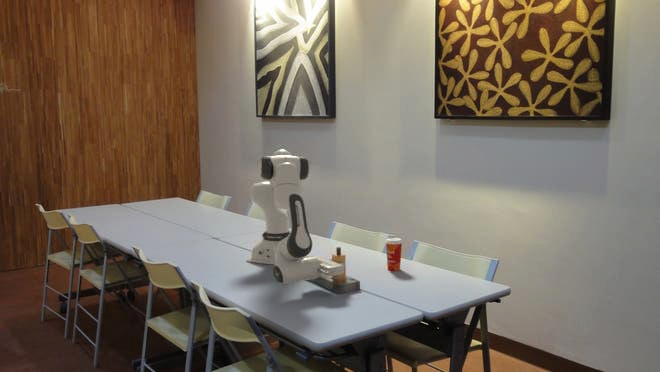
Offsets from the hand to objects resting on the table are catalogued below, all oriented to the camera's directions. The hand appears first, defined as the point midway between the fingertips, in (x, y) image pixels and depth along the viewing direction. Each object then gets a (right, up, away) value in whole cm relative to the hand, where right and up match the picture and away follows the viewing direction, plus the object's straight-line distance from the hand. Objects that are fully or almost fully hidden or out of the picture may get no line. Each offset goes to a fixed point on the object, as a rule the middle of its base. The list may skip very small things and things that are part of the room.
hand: (340, 262), depth 243 cm
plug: (-1, -9, +1) cm, 9 cm away
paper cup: (+25, -7, +26) cm, 37 cm away
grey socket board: (-4, -9, +7) cm, 12 cm away
